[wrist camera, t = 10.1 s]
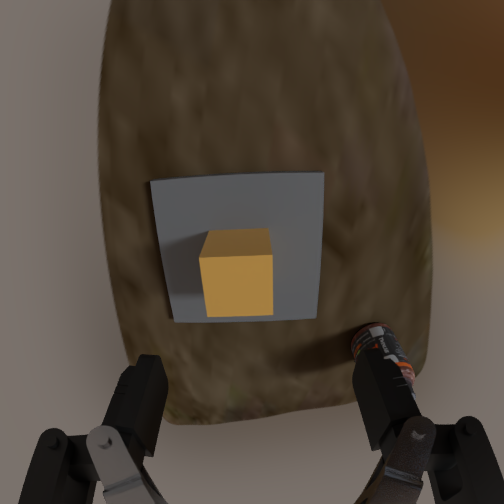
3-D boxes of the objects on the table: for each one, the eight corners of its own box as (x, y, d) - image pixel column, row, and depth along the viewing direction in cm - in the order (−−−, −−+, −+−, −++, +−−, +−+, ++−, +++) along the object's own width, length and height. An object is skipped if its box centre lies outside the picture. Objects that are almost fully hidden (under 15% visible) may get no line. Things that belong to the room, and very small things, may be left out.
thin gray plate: (153, 179, 27) (134, 190, 22) (321, 171, 27) (335, 180, 22) (176, 317, 33) (167, 345, 29) (314, 312, 33) (322, 341, 29)
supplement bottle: (361, 317, 34) (393, 385, 23) (398, 323, 34) (434, 385, 24) (341, 353, 36) (363, 421, 26) (378, 357, 37) (405, 419, 26)
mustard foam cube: (209, 230, 28) (198, 257, 23) (268, 227, 28) (272, 254, 22) (214, 282, 30) (207, 317, 25) (269, 280, 30) (273, 315, 25)
